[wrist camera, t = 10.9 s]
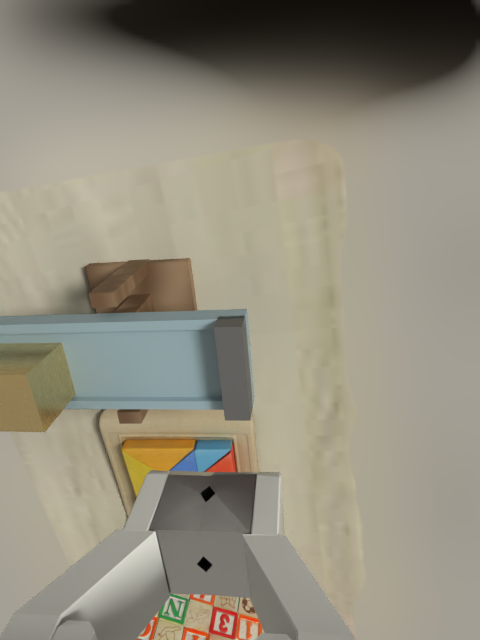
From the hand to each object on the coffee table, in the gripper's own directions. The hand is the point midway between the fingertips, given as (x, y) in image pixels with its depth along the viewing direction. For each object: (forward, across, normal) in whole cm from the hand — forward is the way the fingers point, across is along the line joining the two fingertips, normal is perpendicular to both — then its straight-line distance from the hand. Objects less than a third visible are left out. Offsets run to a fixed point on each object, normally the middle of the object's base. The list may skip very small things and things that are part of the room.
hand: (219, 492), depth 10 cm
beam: (+23, +13, +9) cm, 28 cm away
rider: (+22, +20, +9) cm, 31 cm away
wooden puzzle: (+32, +12, +29) cm, 45 cm away
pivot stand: (+31, +13, +9) cm, 35 cm away
